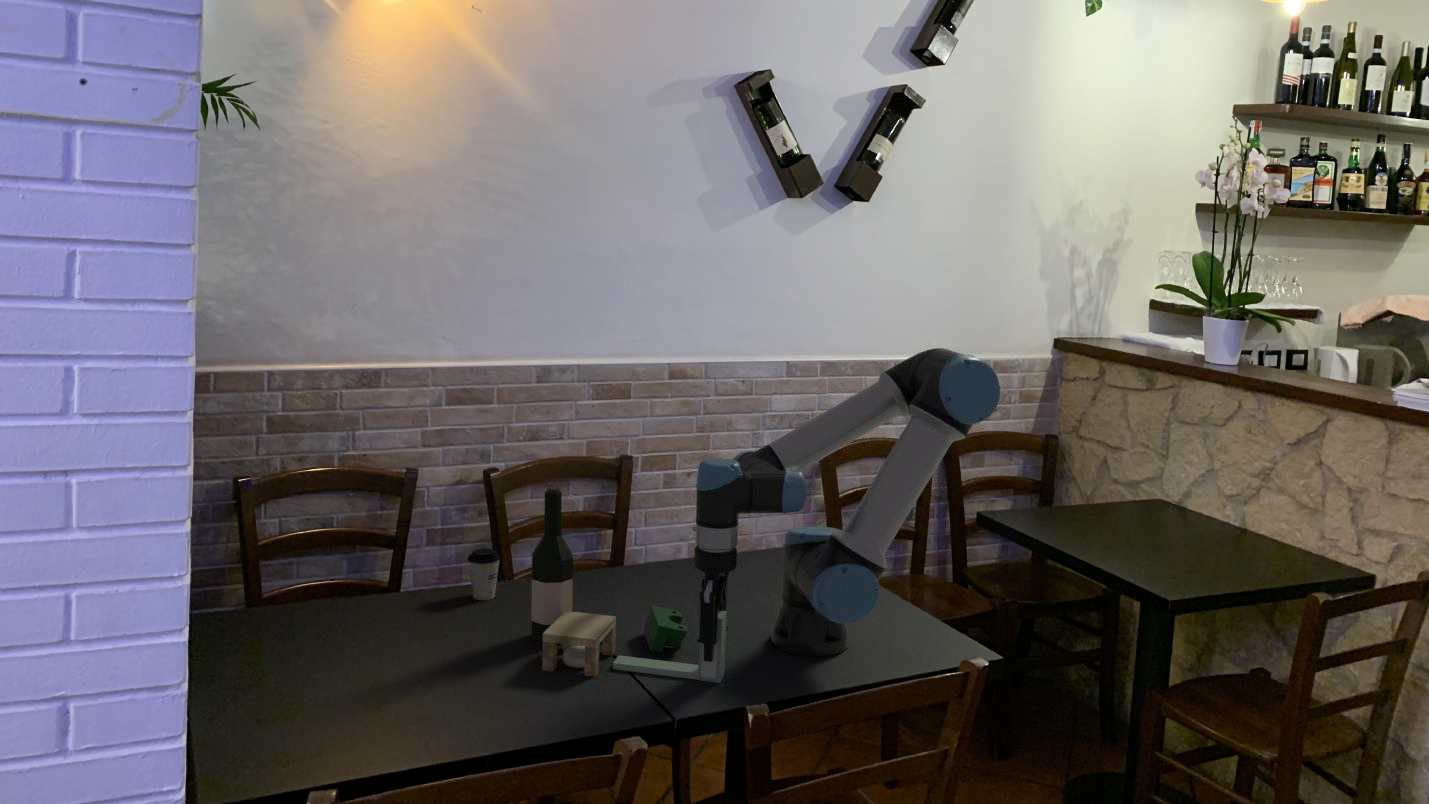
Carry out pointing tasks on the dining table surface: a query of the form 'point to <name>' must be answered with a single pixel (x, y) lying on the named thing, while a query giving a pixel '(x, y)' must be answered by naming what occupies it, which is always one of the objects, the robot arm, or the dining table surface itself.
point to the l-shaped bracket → (679, 668)
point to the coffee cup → (483, 573)
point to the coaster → (575, 656)
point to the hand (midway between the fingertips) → (711, 670)
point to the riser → (580, 638)
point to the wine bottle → (551, 570)
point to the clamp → (664, 629)
